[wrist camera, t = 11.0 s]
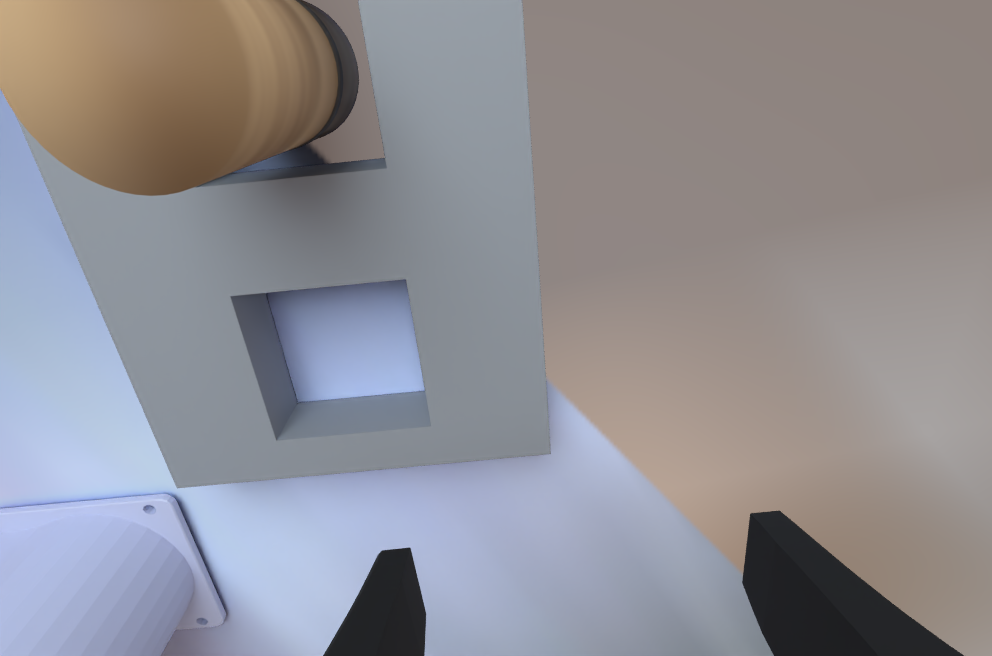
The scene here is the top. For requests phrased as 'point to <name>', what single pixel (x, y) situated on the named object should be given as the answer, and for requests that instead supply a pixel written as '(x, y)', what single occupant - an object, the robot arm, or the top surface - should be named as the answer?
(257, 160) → the peg
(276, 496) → the top surface
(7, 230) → the top surface
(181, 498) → the top surface
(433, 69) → the board
